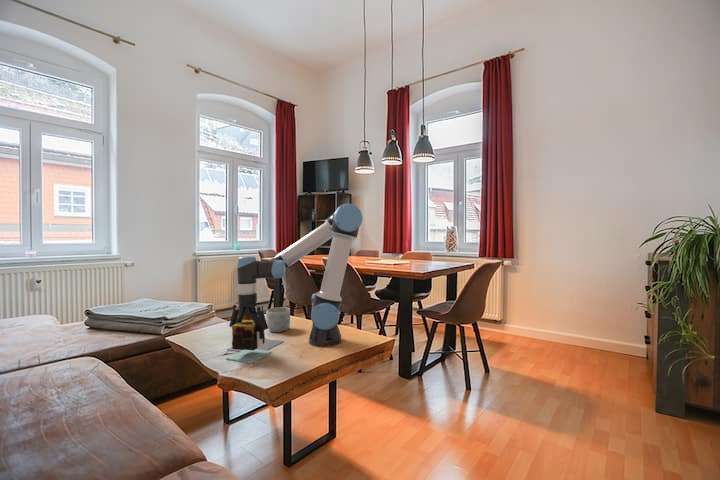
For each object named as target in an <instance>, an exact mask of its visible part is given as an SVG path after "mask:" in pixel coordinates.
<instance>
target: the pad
mask: <svg viewBox="0 0 720 480" xmlns="http://www.w3.org/2000/svg"><path fill="white" fill-rule="evenodd" d="M270 354H272V350H267V351H266V350H258V349H255V350H242V351H240V352H238V351H237V352H236V353H234V354H232V355H230V356H228V357H226V360H228V361H233V362H242V363H248V364H254V363H256V362H258V361H259V360H261V359H262V358H264V357H266V356H268V355H270Z"/></svg>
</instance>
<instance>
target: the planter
mask: <svg viewBox="0 0 720 480" xmlns="http://www.w3.org/2000/svg"><path fill="white" fill-rule="evenodd" d="M265 311H266V312H265V313H266V314H265V315H266V316H265V318H266V323H267V326H268V329H267V330H268V331H269V332H272V333H282V332H285V331H288V329H289V328H290V326H291V325H290V324H291V309H290V307H283V306H282V307H281V306H280V307H279V306H277V307H272V308H268V309H267V310H265Z"/></svg>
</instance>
